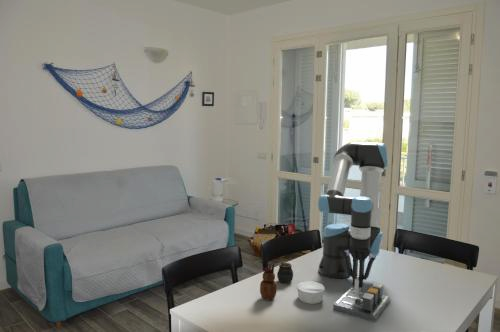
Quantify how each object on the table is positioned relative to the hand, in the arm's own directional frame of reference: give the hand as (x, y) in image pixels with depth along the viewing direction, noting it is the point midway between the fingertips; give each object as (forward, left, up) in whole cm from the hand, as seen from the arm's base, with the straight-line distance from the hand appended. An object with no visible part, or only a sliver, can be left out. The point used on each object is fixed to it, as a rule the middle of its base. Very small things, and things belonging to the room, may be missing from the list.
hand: (357, 294), depth 156 cm
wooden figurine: (-31, -17, -4) cm, 35 cm away
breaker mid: (+6, 0, -1) cm, 6 cm away
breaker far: (+6, +6, -1) cm, 9 cm away
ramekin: (-17, -7, -4) cm, 19 cm away
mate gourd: (-34, +2, -4) cm, 34 cm away
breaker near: (+6, -6, -1) cm, 9 cm away
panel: (+2, 0, -4) cm, 4 cm away
